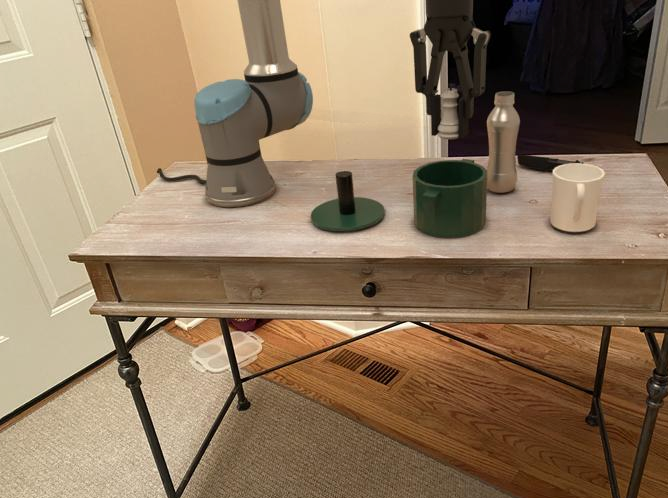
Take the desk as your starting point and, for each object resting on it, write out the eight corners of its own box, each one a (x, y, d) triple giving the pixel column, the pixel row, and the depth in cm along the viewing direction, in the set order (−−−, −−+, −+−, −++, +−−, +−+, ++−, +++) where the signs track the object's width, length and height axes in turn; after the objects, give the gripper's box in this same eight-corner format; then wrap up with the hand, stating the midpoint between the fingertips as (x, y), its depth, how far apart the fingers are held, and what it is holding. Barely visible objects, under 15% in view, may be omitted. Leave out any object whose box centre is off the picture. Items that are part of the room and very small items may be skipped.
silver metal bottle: (523, 190, 128) (529, 93, 117) (498, 199, 125) (502, 100, 114) (502, 181, 133) (506, 87, 122) (478, 189, 130) (480, 94, 119)
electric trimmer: (520, 164, 142) (521, 150, 140) (587, 172, 134) (589, 158, 132) (514, 169, 139) (514, 156, 137) (582, 178, 132) (583, 164, 130)
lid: (296, 226, 120) (290, 182, 115) (336, 198, 131) (331, 156, 126) (361, 239, 114) (357, 193, 109) (397, 208, 125) (395, 165, 120)
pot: (396, 237, 114) (393, 187, 108) (437, 198, 127) (436, 152, 122) (464, 250, 108) (465, 197, 102) (500, 208, 122) (502, 159, 116)
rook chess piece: (437, 132, 111) (436, 87, 106) (462, 131, 110) (462, 86, 106) (437, 140, 107) (436, 93, 102) (462, 139, 106) (462, 92, 102)
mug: (546, 214, 118) (551, 163, 112) (594, 215, 116) (601, 163, 111) (549, 240, 109) (554, 186, 103) (601, 241, 107) (609, 186, 102)
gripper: (388, -9, 97) (396, 136, 109) (494, -10, 89) (489, 146, 102) (409, -15, 102) (414, 124, 115) (510, -16, 95) (504, 132, 107)
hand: (449, 134), depth 108 cm, fingers closed on rook chess piece, 4 cm apart
